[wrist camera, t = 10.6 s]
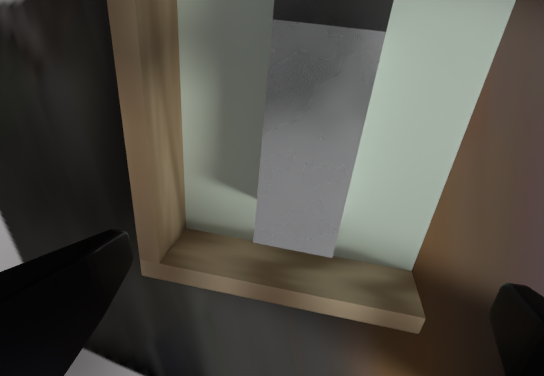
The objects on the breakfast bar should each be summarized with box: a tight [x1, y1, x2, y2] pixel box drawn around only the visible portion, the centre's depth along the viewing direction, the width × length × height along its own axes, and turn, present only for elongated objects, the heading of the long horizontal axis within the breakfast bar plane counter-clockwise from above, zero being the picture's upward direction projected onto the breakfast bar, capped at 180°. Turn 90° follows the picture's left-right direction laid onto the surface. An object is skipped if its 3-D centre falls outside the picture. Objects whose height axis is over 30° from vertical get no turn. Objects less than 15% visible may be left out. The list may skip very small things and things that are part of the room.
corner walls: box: [107, 0, 426, 334], centre depth 16 cm, size 16×16×4 cm
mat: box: [177, 0, 516, 271], centre depth 18 cm, size 16×16×1 cm
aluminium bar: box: [253, 0, 394, 258], centre depth 15 cm, size 11×4×4 cm, turn 174°
